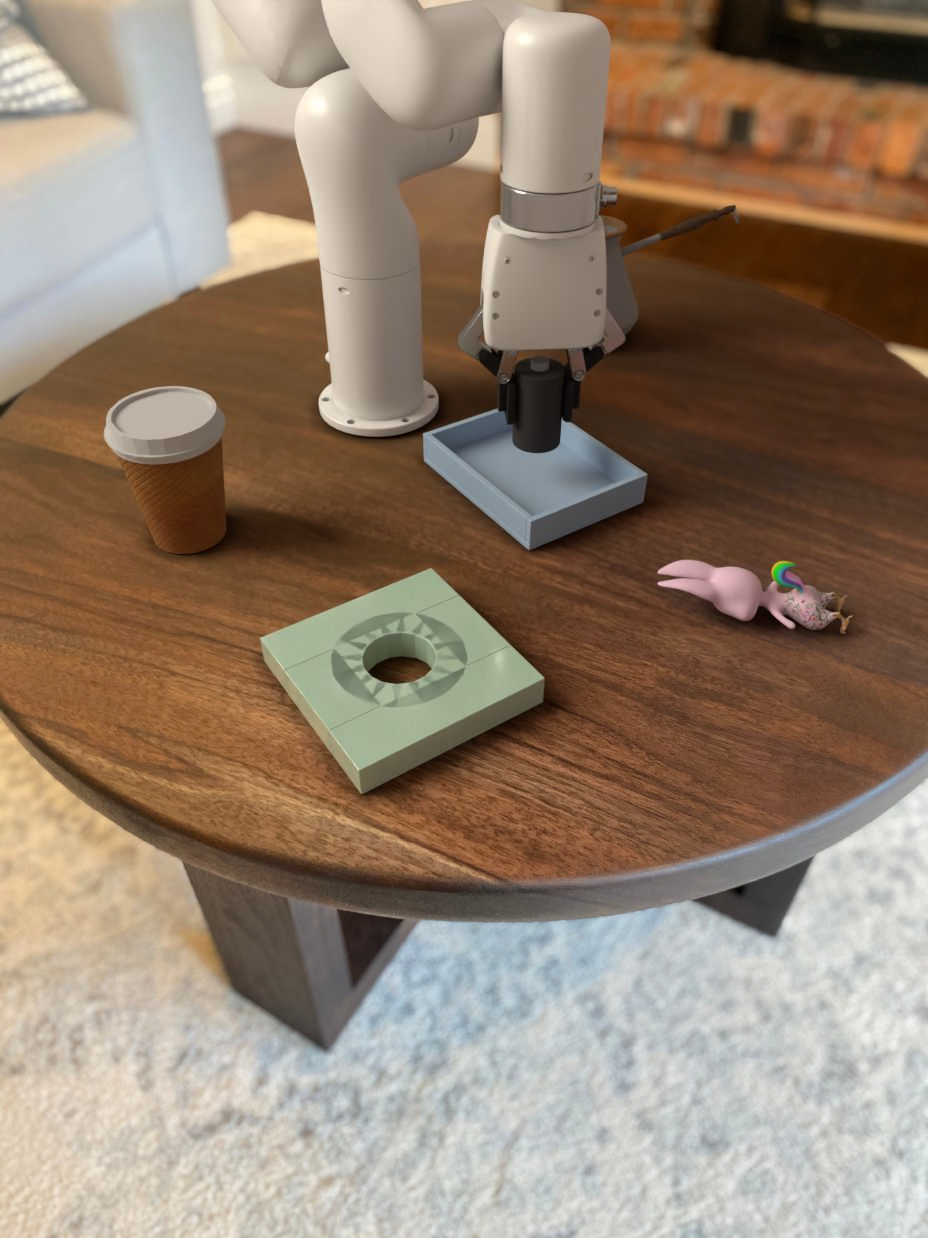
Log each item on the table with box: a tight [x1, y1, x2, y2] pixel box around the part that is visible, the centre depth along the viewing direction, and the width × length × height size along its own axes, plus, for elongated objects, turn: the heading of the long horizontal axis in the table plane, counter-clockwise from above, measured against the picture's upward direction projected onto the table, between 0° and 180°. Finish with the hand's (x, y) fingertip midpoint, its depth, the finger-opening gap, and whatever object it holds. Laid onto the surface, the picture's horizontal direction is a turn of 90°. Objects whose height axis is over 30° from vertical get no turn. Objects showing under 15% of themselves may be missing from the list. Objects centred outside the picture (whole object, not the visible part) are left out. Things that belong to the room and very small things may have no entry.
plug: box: [512, 355, 565, 453], centre depth 83 cm, size 4×4×8 cm
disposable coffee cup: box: [103, 385, 228, 555], centre depth 79 cm, size 10×10×12 cm
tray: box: [422, 407, 648, 551], centre depth 88 cm, size 17×13×3 cm
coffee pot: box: [599, 204, 740, 336], centre depth 108 cm, size 21×12×15 cm, turn 91°
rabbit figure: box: [657, 559, 853, 634], centre depth 73 cm, size 6×6×15 cm
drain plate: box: [259, 567, 546, 795], centre depth 69 cm, size 15×15×2 cm
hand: (537, 414), depth 84 cm, fingers closed on plug, 4 cm apart
